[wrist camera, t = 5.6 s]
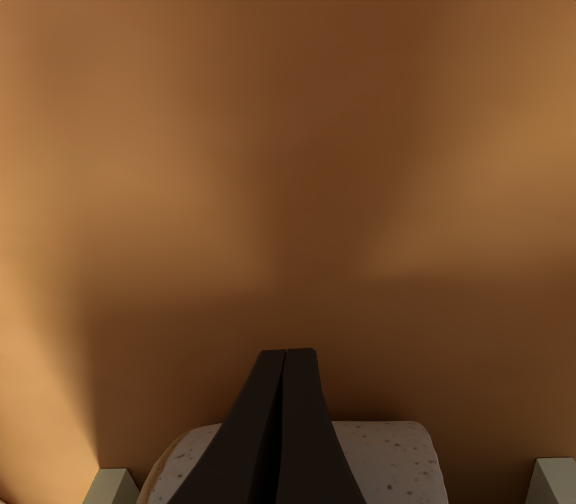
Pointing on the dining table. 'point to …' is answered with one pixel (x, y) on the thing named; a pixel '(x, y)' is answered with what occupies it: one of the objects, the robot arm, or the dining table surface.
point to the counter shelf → (540, 500)
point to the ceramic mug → (357, 449)
